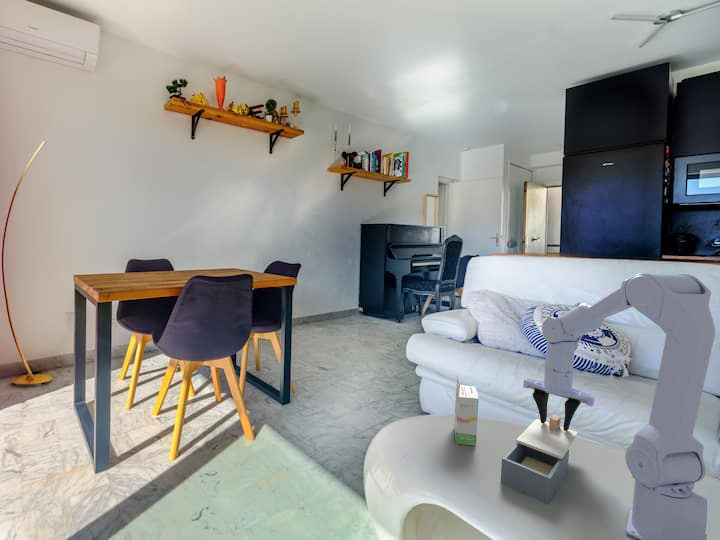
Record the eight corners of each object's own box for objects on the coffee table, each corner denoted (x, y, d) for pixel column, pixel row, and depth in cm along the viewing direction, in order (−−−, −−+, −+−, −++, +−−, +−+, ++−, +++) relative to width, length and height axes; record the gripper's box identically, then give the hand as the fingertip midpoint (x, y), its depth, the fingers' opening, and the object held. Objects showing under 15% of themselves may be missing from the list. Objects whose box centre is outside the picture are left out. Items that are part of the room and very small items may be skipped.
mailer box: (567, 471, 78) (569, 449, 78) (548, 504, 68) (550, 478, 68) (523, 454, 84) (525, 433, 84) (500, 482, 74) (502, 458, 74)
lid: (577, 434, 84) (578, 421, 84) (561, 459, 74) (562, 444, 73) (536, 420, 90) (537, 408, 90) (516, 442, 80) (517, 428, 79)
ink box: (476, 447, 87) (480, 386, 86) (455, 444, 88) (458, 384, 87) (473, 429, 95) (476, 374, 94) (453, 427, 96) (456, 372, 95)
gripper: (598, 372, 83) (594, 430, 84) (531, 358, 93) (527, 410, 93) (592, 380, 78) (587, 442, 78) (522, 364, 87) (518, 419, 88)
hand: (554, 425), depth 86 cm, fingers open, 4 cm apart
